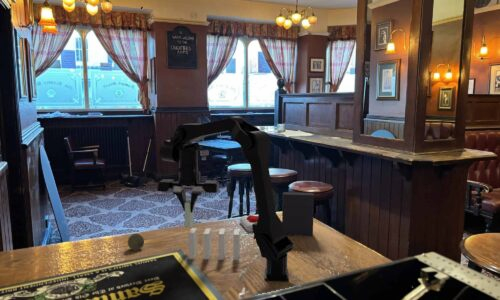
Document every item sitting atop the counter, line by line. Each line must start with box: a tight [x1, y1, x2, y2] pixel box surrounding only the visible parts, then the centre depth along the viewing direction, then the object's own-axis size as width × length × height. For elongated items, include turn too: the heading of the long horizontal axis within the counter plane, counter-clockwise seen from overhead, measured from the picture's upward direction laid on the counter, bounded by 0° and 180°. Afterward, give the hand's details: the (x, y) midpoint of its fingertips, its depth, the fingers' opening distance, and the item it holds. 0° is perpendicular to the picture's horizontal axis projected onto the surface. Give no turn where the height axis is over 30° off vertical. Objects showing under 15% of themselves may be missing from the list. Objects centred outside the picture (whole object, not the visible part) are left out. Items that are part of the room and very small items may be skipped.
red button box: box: [239, 214, 258, 233], centre depth 146 cm, size 12×4×10 cm
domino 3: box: [203, 227, 212, 260], centre depth 117 cm, size 5×2×8 cm, turn 177°
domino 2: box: [188, 227, 198, 260], centre depth 117 cm, size 5×2×8 cm, turn 177°
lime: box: [127, 233, 145, 251], centre depth 122 cm, size 4×5×5 cm
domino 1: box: [184, 198, 194, 229], centre depth 122 cm, size 5×2×8 cm, turn 177°
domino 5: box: [232, 228, 241, 261], centre depth 116 cm, size 5×2×8 cm, turn 177°
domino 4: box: [217, 228, 227, 261], centre depth 117 cm, size 5×2×8 cm, turn 177°
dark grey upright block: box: [281, 191, 315, 237], centre depth 137 cm, size 11×4×15 cm, turn 84°
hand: (188, 212), depth 121 cm, fingers closed on domino 1, 2 cm apart
